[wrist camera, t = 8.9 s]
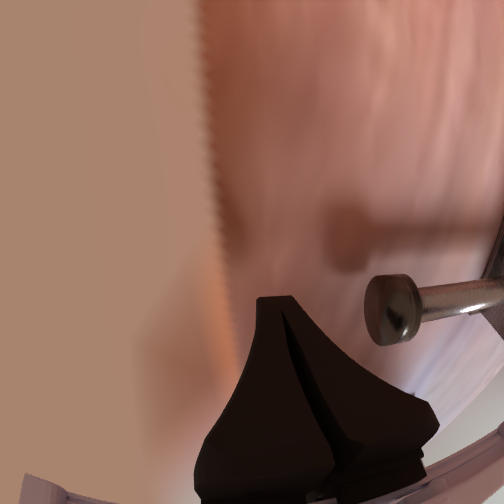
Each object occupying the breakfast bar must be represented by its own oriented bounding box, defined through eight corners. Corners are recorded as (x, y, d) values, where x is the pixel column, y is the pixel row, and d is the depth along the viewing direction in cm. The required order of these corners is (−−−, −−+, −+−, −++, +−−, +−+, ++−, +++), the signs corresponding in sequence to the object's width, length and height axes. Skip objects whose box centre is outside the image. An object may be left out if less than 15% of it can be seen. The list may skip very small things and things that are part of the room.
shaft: (531, 251, 13) (557, 274, 11) (516, 287, 15) (539, 311, 12) (373, 262, 12) (406, 305, 10) (359, 315, 14) (382, 360, 11)
